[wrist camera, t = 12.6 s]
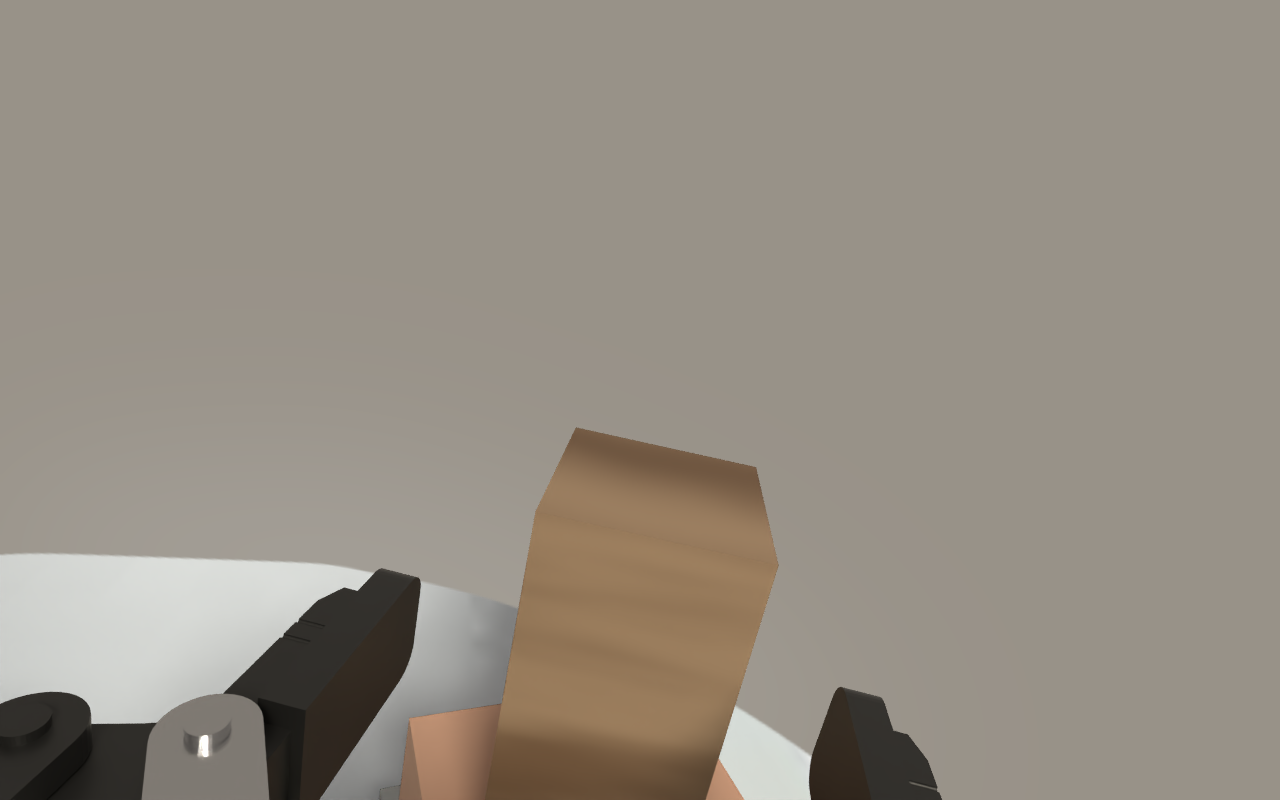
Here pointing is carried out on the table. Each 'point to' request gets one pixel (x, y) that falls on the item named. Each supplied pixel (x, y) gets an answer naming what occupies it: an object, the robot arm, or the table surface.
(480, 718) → the tower top
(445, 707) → the table surface
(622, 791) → the tall block
